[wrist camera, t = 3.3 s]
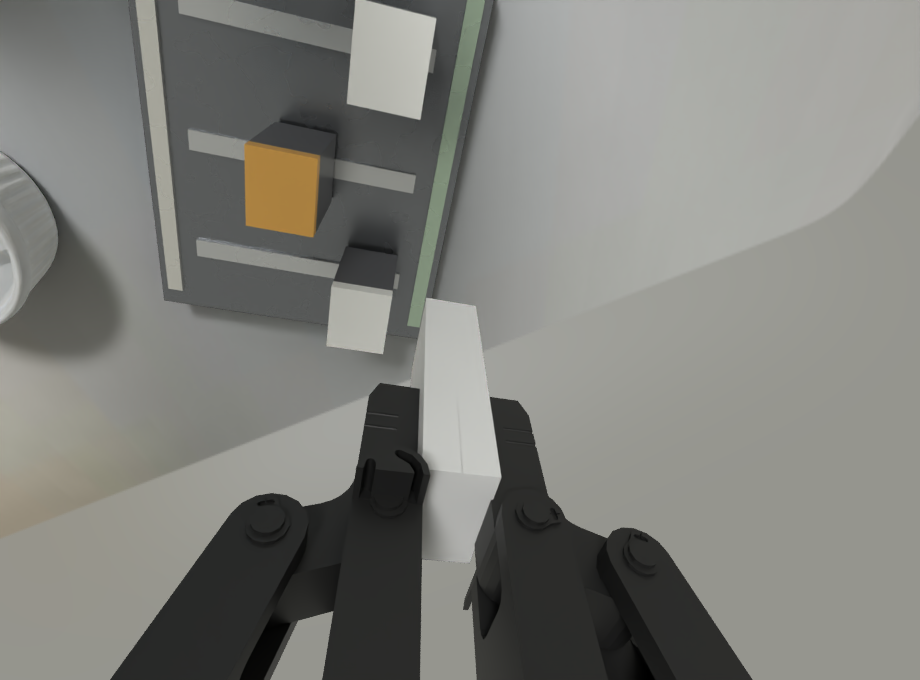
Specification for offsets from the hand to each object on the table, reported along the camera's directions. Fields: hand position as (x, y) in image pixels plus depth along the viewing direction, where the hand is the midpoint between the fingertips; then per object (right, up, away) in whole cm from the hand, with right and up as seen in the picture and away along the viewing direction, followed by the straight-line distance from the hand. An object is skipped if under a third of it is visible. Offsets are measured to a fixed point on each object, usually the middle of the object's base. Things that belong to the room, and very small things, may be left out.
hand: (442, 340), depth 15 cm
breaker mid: (-8, +9, +11) cm, 16 cm away
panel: (-8, +11, +13) cm, 18 cm away
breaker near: (-2, +14, +8) cm, 16 cm away
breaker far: (-5, +4, +15) cm, 16 cm away
